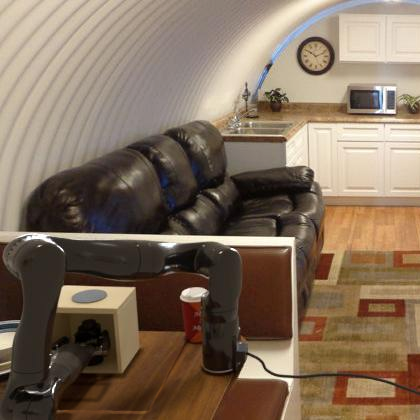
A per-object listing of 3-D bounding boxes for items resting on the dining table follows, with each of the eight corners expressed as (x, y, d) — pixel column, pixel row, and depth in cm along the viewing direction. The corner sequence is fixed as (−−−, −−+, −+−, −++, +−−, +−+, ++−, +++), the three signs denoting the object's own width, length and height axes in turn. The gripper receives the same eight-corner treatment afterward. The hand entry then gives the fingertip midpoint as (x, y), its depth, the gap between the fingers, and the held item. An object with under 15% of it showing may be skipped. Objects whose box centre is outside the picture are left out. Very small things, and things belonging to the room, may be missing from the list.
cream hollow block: (139, 350, 170) (135, 286, 165) (122, 376, 158) (117, 307, 152) (70, 349, 169) (63, 284, 164) (47, 375, 156) (39, 306, 151)
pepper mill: (107, 356, 164) (103, 317, 160) (99, 366, 159) (95, 326, 156) (86, 355, 163) (82, 316, 160) (77, 366, 158) (73, 326, 155)
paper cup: (202, 346, 174) (200, 299, 170) (176, 342, 176) (174, 295, 172) (215, 333, 182) (214, 288, 178) (191, 329, 183) (189, 284, 179)
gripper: (95, 352, 145) (122, 319, 161) (30, 351, 144) (63, 318, 160) (98, 381, 147) (124, 346, 163) (33, 381, 146) (66, 345, 162)
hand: (94, 332), depth 161 cm, fingers closed on pepper mill, 5 cm apart
